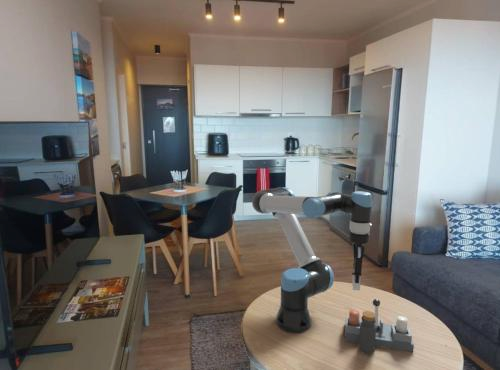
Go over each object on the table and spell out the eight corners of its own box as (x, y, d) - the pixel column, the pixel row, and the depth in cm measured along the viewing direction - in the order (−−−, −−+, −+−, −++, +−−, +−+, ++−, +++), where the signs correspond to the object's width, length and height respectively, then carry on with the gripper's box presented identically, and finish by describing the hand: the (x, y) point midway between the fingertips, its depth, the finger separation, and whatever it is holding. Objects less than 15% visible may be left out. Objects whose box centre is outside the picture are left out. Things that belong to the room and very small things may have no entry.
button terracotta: (348, 325, 135) (349, 314, 134) (348, 320, 138) (349, 309, 138) (359, 327, 134) (359, 315, 133) (358, 321, 137) (359, 310, 137)
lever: (372, 329, 135) (373, 298, 139) (371, 328, 138) (372, 298, 142) (380, 330, 134) (380, 299, 138) (379, 329, 137) (379, 299, 141)
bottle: (377, 353, 127) (380, 317, 124) (364, 355, 125) (367, 319, 123) (368, 343, 132) (370, 308, 130) (355, 346, 131) (357, 311, 128)
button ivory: (396, 332, 130) (397, 321, 129) (395, 326, 134) (396, 315, 133) (407, 334, 129) (408, 322, 128) (405, 328, 133) (406, 317, 132)
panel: (345, 340, 134) (346, 324, 133) (344, 324, 145) (345, 308, 144) (413, 351, 128) (414, 334, 126) (407, 333, 139) (408, 317, 138)
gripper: (371, 238, 121) (367, 298, 125) (368, 226, 136) (364, 280, 140) (350, 236, 123) (346, 295, 127) (349, 225, 138) (346, 278, 142)
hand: (356, 287), depth 133 cm, fingers open, 3 cm apart
